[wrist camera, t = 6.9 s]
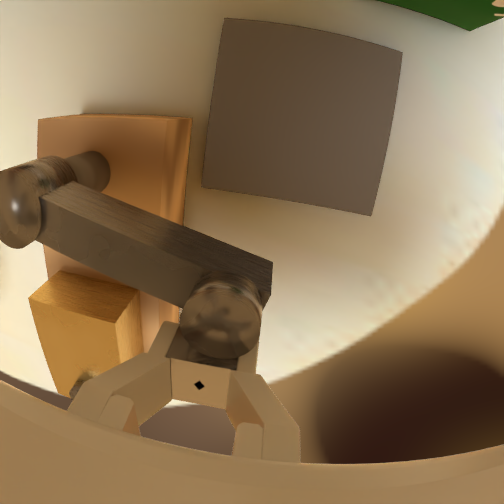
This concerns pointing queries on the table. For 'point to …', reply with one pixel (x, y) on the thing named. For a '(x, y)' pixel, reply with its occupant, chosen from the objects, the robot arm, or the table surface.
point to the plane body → (123, 179)
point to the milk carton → (457, 10)
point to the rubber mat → (300, 115)
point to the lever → (140, 253)
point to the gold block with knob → (85, 327)
